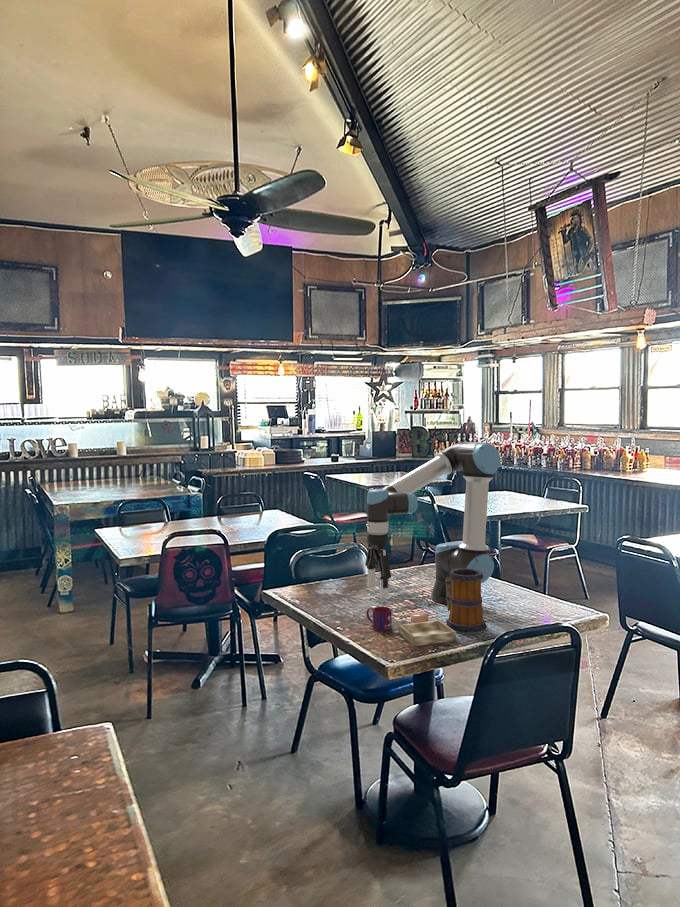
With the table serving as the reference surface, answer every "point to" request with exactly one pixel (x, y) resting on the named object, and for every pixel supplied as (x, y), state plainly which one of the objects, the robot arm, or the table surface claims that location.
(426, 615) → the tan rounded block
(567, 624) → the table surface
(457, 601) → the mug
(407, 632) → the wooden tray
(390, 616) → the cup
